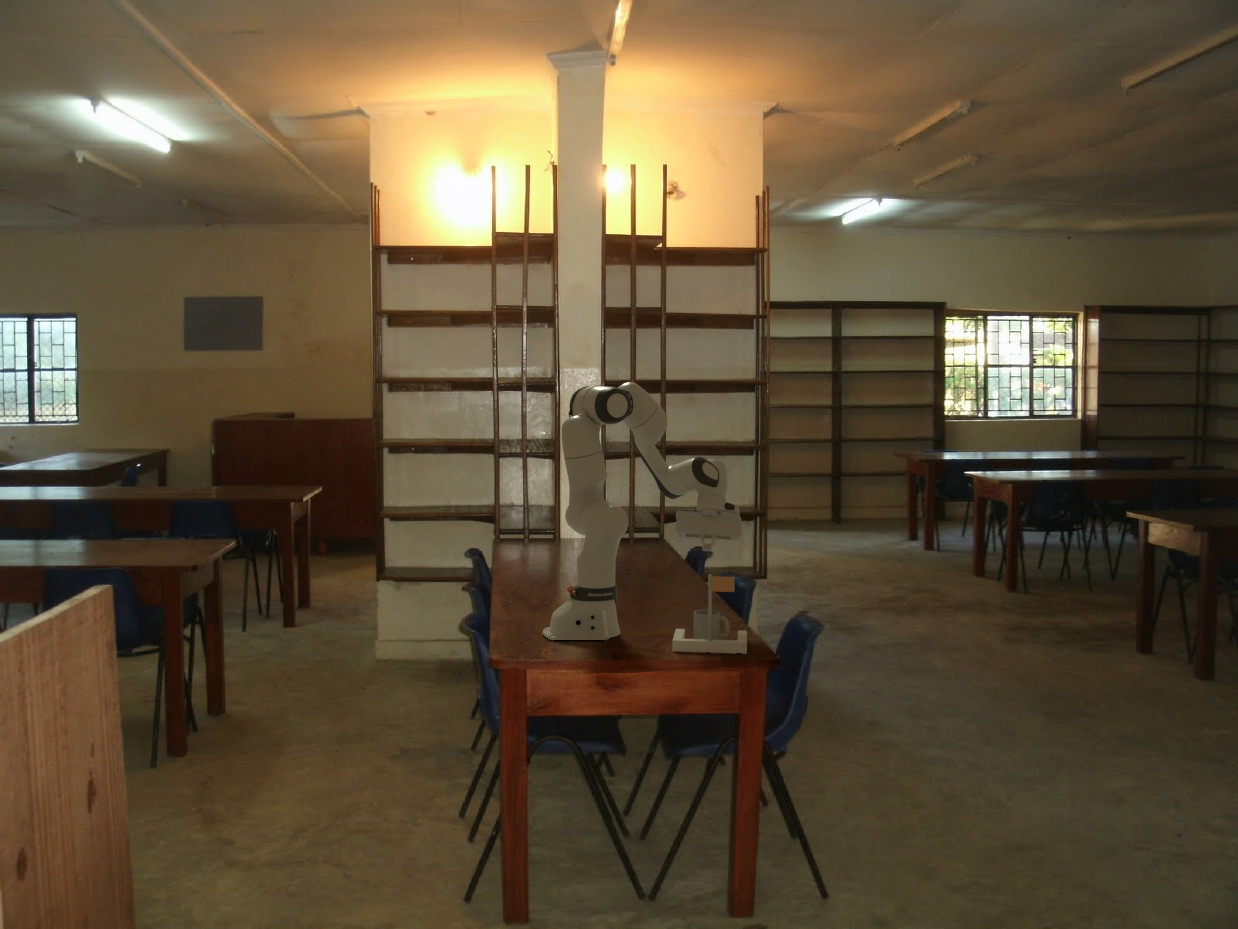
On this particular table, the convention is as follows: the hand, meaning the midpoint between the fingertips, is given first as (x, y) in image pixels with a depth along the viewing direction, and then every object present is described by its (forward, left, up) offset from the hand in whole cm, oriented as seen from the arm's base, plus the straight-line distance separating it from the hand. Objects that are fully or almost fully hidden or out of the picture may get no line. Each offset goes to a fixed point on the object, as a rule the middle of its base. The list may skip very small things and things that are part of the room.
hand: (706, 550), depth 321 cm
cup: (-5, -21, -23) cm, 32 cm away
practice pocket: (-7, -24, -23) cm, 34 cm away
